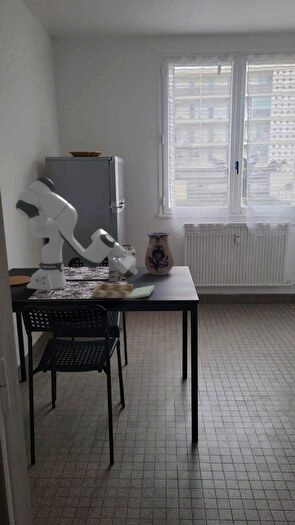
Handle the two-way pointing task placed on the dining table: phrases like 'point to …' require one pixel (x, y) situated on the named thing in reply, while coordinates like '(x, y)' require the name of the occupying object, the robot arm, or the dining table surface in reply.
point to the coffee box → (114, 272)
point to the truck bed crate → (112, 290)
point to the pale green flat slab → (141, 292)
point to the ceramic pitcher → (158, 254)
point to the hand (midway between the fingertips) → (137, 273)
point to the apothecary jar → (132, 251)
